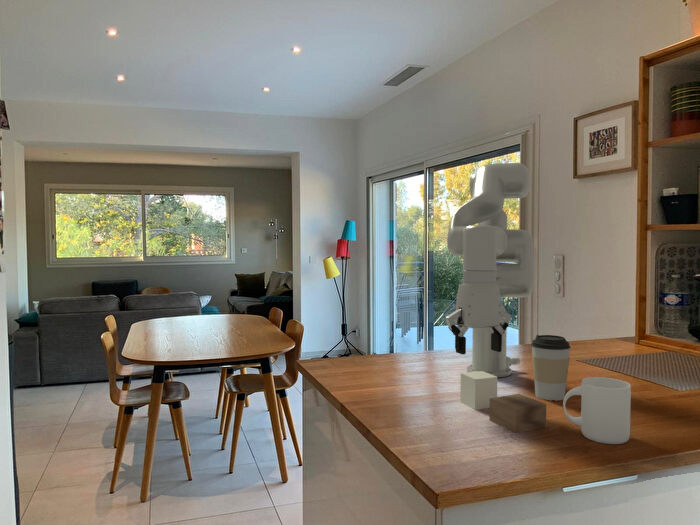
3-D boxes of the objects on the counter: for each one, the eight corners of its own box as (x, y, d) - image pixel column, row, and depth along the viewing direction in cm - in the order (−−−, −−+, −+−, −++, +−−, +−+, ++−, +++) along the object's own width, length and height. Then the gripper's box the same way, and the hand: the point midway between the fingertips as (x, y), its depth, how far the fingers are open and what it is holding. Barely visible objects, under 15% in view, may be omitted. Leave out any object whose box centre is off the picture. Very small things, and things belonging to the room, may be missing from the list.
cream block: (481, 399, 128) (482, 370, 128) (497, 406, 122) (497, 376, 122) (460, 402, 126) (460, 373, 125) (474, 409, 120) (475, 379, 120)
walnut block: (518, 416, 116) (518, 393, 116) (546, 427, 109) (546, 403, 109) (489, 421, 113) (489, 398, 113) (515, 433, 106) (516, 409, 105)
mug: (565, 423, 111) (566, 373, 110) (630, 433, 105) (631, 380, 105) (559, 437, 103) (560, 382, 103) (629, 448, 97) (630, 391, 97)
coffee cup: (568, 393, 133) (569, 333, 132) (571, 403, 124) (572, 340, 124) (530, 389, 136) (531, 331, 135) (530, 399, 127) (531, 337, 127)
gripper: (500, 277, 129) (499, 347, 129) (438, 278, 123) (437, 351, 123) (520, 278, 122) (519, 352, 122) (455, 279, 116) (455, 357, 116)
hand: (478, 352), depth 123 cm, fingers open, 9 cm apart
